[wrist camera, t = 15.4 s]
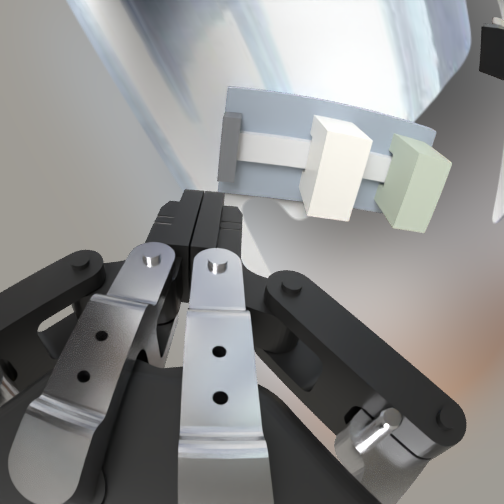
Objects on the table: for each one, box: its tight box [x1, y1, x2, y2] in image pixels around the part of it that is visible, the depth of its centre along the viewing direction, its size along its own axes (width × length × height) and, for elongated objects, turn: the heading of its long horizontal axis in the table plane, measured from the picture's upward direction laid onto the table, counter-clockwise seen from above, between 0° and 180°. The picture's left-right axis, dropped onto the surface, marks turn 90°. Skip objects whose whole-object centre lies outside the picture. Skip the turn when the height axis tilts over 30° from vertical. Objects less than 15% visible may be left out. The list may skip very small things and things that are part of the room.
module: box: [299, 115, 373, 221], centre depth 35 cm, size 5×10×8 cm, turn 173°
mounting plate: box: [218, 86, 452, 233], centre depth 36 cm, size 28×14×9 cm, turn 83°
